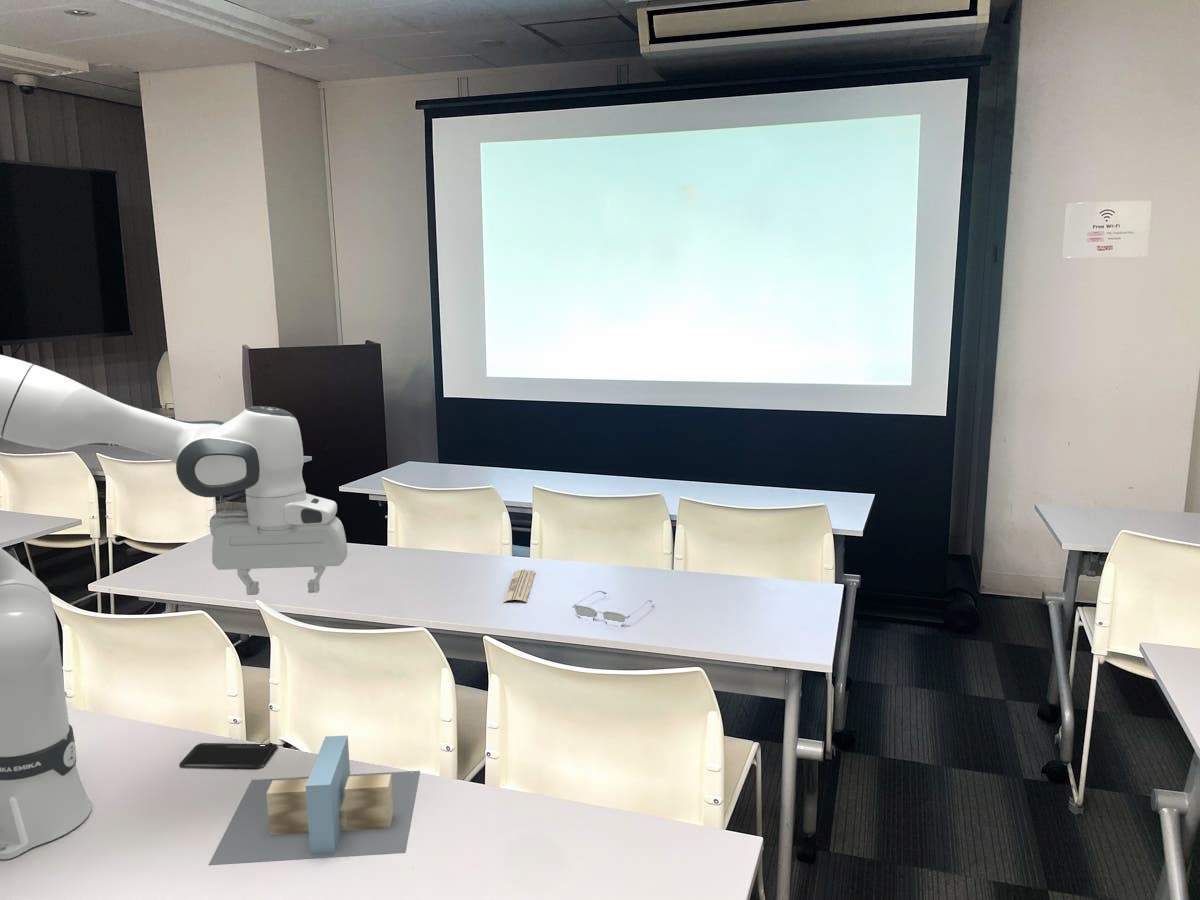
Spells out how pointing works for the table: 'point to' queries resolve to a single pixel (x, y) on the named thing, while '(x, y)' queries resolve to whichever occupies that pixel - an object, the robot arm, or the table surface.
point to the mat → (255, 843)
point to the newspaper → (520, 585)
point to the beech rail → (359, 810)
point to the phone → (229, 756)
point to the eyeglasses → (607, 615)
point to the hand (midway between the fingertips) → (283, 592)
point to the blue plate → (327, 793)
